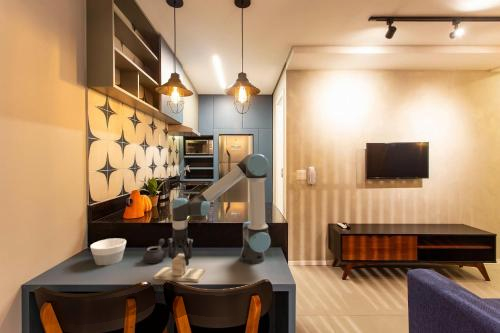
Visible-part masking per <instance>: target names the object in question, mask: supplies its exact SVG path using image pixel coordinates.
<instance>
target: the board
mask: <svg viewBox="0 0 500 333" xmlns="http://www.w3.org/2000/svg"><path fill="white" fill-rule="evenodd" d="M206 271H207V270H206V269H204V268H203V269H202V268H201V269H200V268H189V267H188V270H187V271H186V272H185V274H184V275H183V276H182V277H177V276H172V267H170V266H164V267H163V268H161V269H160V270H159V271H158V272H157V273H156V274H154V275H153V277H154V278H153V279H154V280H163V281H164V280H166V281H178V282H179V281H180V282H192V283H194V282H195V283H199V282H200V281H201V280H202V278H203V277H204V275H205V274H206Z"/></svg>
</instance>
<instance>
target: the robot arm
mask: <svg viewBox="0 0 500 333" xmlns="http://www.w3.org/2000/svg"><path fill="white" fill-rule="evenodd" d="M269 168H270V162H269V160H268V158H267V156H265V155H263V154H261V153H250V154H247V155H246V156H245V157H244V158H243V159H241V160H240V161H239V162H238V163H236V164H235V167H234V168H233V169H232V170H230V171H229V172H228V173H227V174H225V175H224V176H223V177H221V178H220V179H219V180H217V181H216V182H215V183H213V184H212V185H211V186H210V187H209V188H207V189H206V190H205V191H203V192H202V193H201V194H199V195H198V196H196V197H194V198H193V199H192V201H188V199H187V198H186V197H177V198H174V199H173V200H172V206H171V210H172V211H171V214H172V237H170V238H168V239H167V240H166V241H167V244H168V246H167V248H168V252H167V257H168V258H170V259H171V261H172V260H173V259H174V258H175V257H176V256H177V252H178V249H179V246H180V247H181V248H182V252H183V254H184V256H185V260H184V272H186V271H187V266H188V267H189V265H190V259H192V258H193V242H194V239H193V238H189V236H188V217H194V216H195V217H197V216H198V217H199V216H202V217H203V216H210V215H211V214H210V213H211V203H213V201H215V200H216V199H217V198H219V197H220V196H222V195H223V194H224V193H226V192H227V191H228V190H230V189H231V188H232V187H233V186H234V185H235V184H237V183H238V182H240V181H241V180H242V179H243V178H244V179H246V180H248V188H249V189H248V190H249V192H248V193H249V194H248V195H249V221H244V222H243V224H242V244H243V245H242V249H241V252H240V257H239V259H240V261H241V262H243V263H247V264H259V263H262V262H264V261H265V259H266V257H265V256H266V255H265V251H267V250H268V249H269V248H270V246H271V242H272V240H271V237H270V234H269V225H268V224H267V223H266V197H265V194H266V193H265V180H266V179H267V178H268V176H267V175H268V171H269ZM173 242H174V244H173ZM187 243H188V245H187ZM187 246H188V247H187Z"/></svg>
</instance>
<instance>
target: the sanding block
mask: <svg viewBox="0 0 500 333" xmlns="http://www.w3.org/2000/svg"><path fill="white" fill-rule="evenodd" d="M184 260H185V256H184V253H180V252H179V253H178V254H176V257H175V258H174V259H173V260H172V259H171V264H172V276H177V277H182V276H183V275H184V274H185V272H184ZM188 268H189V265H188V266H187V270H188Z"/></svg>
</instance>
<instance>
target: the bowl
mask: <svg viewBox="0 0 500 333" xmlns="http://www.w3.org/2000/svg"><path fill="white" fill-rule="evenodd" d="M126 245H127V240H126V239H125V238H115V237H114V238H106V239H101V240H98V241H96V242H93V243H92V244H90V250H91V254H92V256H93V259H94V262H95V265H97V266H101V265H105V266H111V265H114V264H117V263H120V262H121V261H122V260H123V257H124V252H125V248H126Z"/></svg>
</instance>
